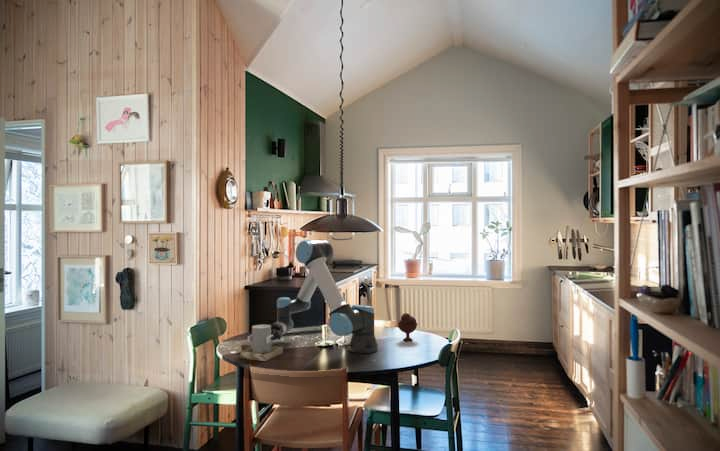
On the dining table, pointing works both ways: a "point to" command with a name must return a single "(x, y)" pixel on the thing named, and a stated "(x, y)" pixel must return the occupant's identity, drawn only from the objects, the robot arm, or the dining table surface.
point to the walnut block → (245, 346)
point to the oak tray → (261, 354)
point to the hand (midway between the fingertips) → (257, 339)
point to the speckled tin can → (261, 338)
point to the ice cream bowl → (407, 325)
